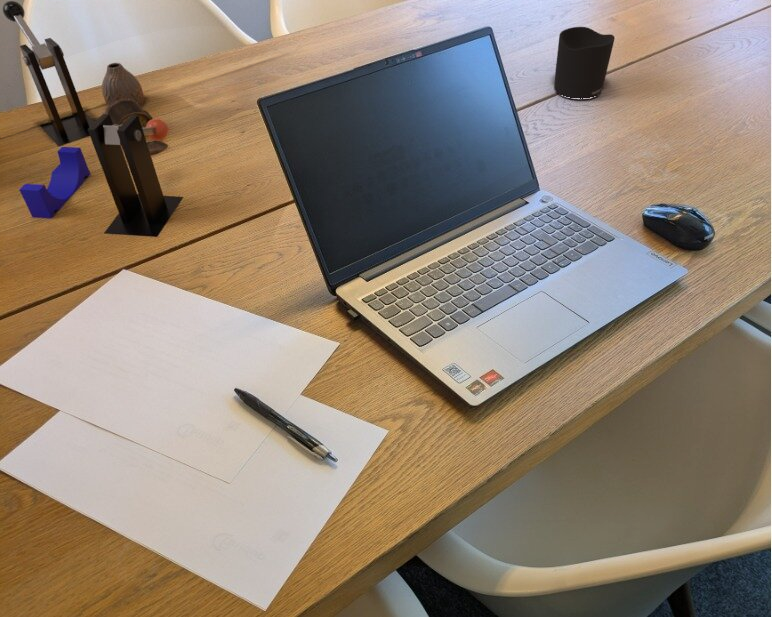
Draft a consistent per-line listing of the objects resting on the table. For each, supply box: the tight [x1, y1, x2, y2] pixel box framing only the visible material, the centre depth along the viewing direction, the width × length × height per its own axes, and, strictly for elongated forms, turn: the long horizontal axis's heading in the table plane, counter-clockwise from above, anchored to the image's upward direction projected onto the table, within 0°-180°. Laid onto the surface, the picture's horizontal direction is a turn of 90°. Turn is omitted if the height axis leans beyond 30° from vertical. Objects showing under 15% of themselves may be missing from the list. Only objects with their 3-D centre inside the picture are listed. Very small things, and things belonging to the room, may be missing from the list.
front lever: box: [103, 118, 169, 146], centre depth 92 cm, size 14×3×3 cm, turn 172°
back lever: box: [2, 0, 55, 71], centre depth 108 cm, size 14×3×3 cm, turn 38°
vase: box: [101, 62, 145, 108], centre depth 120 cm, size 7×7×9 cm
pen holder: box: [553, 26, 616, 99], centre depth 119 cm, size 9×9×10 cm
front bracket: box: [88, 113, 184, 238], centre depth 91 cm, size 10×8×16 cm
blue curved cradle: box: [18, 146, 91, 220], centre depth 99 cm, size 12×4×6 cm, turn 171°
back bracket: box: [19, 37, 95, 148], centre depth 111 cm, size 10×8×16 cm
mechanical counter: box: [104, 98, 168, 156], centre depth 110 cm, size 7×13×10 cm
